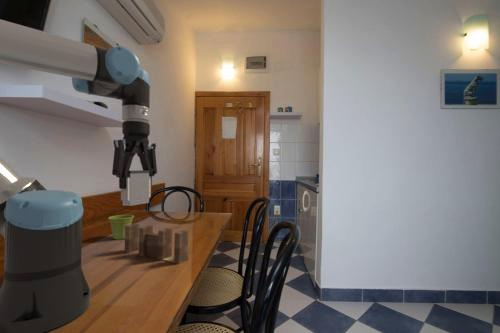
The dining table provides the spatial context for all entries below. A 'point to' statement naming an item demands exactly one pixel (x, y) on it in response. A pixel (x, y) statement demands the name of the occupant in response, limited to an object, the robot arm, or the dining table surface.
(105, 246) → the dining table surface
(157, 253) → the brown long notched block
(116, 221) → the plant pot
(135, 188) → the bracket plate
